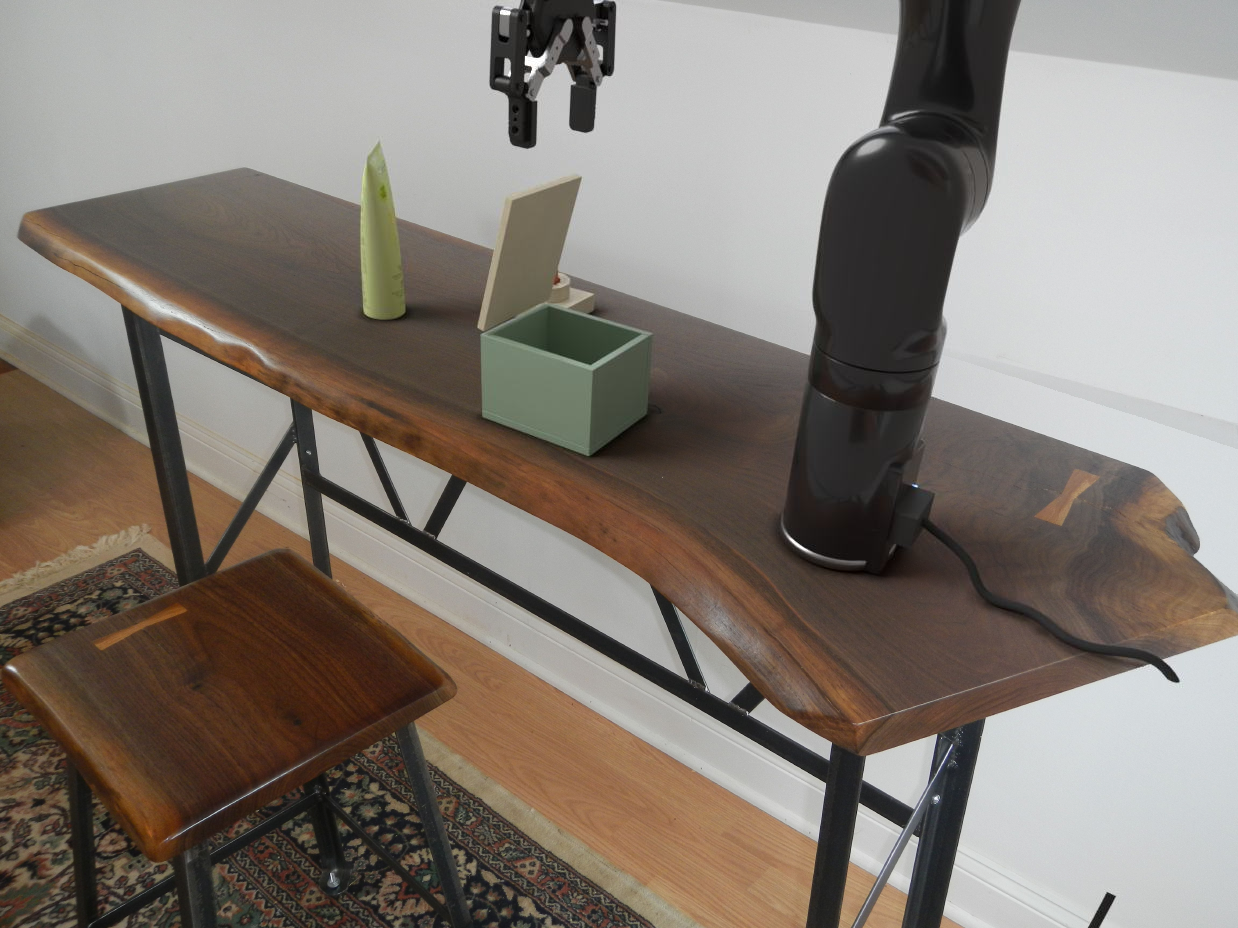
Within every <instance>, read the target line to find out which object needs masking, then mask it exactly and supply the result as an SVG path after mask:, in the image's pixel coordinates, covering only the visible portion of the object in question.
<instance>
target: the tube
mask: <svg viewBox="0 0 1238 928" xmlns="http://www.w3.org/2000/svg"><path fill="white" fill-rule="evenodd" d="M362 175H363V176H362V182H361V201H360V267H361V269H360V270H361V272H360V273H361V289H362V291H361V292H362V307H363V314H364V315H365V316H367V317H368V318H371V319H373V320H379V321H380V320H381V321H388V320H394V319H398V318H400V317H402V316H403V315H404V314H405V313H406V299H405V296H406V295H405V286H404V284H405V283H404V275H403V265H402V255H401V248H400V247H401V246H400V239H399V238H400V237H399V231H398V230H399V229H398V224H397V216H396V211H395V204H394V198H393V193H392V188H391V187H392V186H391V183H390V177H389V172H388V167H387V162H386V159H385V155H384V152H383V149H382V146H381V141H380V139H377V141H376V143H375V144H374V146H373V148H372V149H371V150H370V152H369V153H368V154H367V155H366V162H365V165H364V168H363V174H362Z"/></svg>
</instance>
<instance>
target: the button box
mask: <svg viewBox="0 0 1238 928" xmlns="http://www.w3.org/2000/svg"><path fill="white" fill-rule="evenodd" d="M595 297H596V296H595V293H592V292H589V291H585V290H583V289H578V288H574V287H571V278H570V277H569V276H568V275H566V274H565V273H562V272H558V284H555V285H553V288H552V292H551V296H550V299H549V300H547V301H545V302H543V303H541V304H539V305H537V306H535V307H533V308H531V309H529V310H527V311H525V312H523V313H521V314H518V315H516V316H514V317H513V318H515V317H517V316H520V315H522V314H524V313H526V312H528V311H530V310H532V309H534V308H536V307H538V306H540V305H542V304H544V303H546V302H547V303H551V304H554V305H558V306H561V307H565V308H568V309H571V310H575V311H578V312H582V313H585V314H590V313H592V312H593V311H595Z"/></svg>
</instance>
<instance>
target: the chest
mask: <svg viewBox="0 0 1238 928" xmlns="http://www.w3.org/2000/svg"><path fill="white" fill-rule="evenodd" d="M653 341H654V333H653V332H650V331H646V330H643V329H639V328H636V327H633V326H629V325H626V324H623V323H620V322H616V321H612V320H610V319H609V320H608V319H606V318H602V317H600V316H599V317H598V316H595V315H591V314H590V313H588V314H585V313H582V312H578V311H575V310H571V309H568V308H565V307H561V306H558V305H554V304H551V303H547V302H546V303H544V304H542V305H540V306H538V307H536V308H534V309H532V310H530V311H528V312H526V313H524V314H522V315H520V316H517V317H512V318H510V319H508V320H506V321H504V322H502V323H500V324H498V325H496V326H494V327H492V328H490V329H488V330H486V331H484V332H482V333H481V334H480V370H481V371H480V372H481V375H480V376H481V407H482V408H481V411H482V412H481V413H482V414H481V415H482V418H484V419H487V420H489V421H492V422H494V423H497V424H500V425H502V426H505V427H508V428H510V429H513V430H515V431H519V432H522V433H524V434H526V435H530V436H533V437H536V438H538V439H540V440H543V441H545V442H548V443H552V444H554V445H557V446H560V447H562V448H565V449H568V450H570V451H573V452H576V453H578V454H581V455H584V456H587V457H590V456H592V455H593V454H595V453H596V452H597V451H599V450H601V448H603V447H604V446H606V445H607V444H609V442H611V441H612V440H614V439H615V438H616V437H618V436H619V435H621V434H622V433H623V432H624V431H626V430H628V429H629V428H631V427H632V426H633V425H634V424H635V423H637V422H638V421H640V420H641V419H642V418H644V417H645V416H646V415H648V405H649V393H650V392H649V391H650V378H651V367H652V354H653Z"/></svg>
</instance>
